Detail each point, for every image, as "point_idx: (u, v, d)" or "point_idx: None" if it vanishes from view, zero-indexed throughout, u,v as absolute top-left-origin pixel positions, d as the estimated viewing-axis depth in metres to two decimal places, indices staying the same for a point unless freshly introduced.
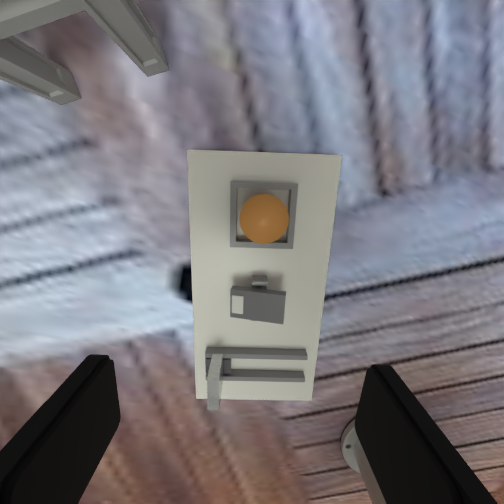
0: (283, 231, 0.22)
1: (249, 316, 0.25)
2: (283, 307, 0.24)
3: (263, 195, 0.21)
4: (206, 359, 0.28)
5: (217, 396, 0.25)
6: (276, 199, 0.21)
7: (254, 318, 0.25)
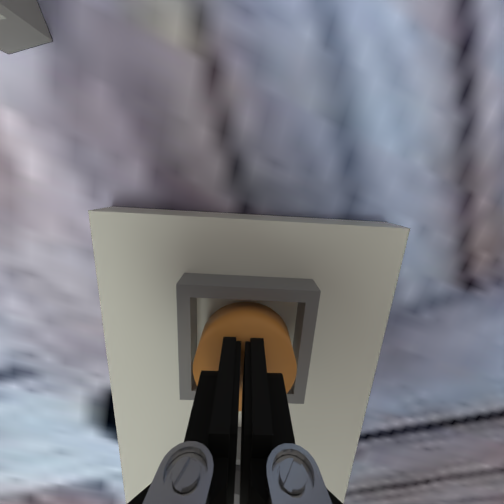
0: None
1: None
2: None
3: (243, 327, 0.10)
4: None
5: None
6: (271, 335, 0.10)
7: None
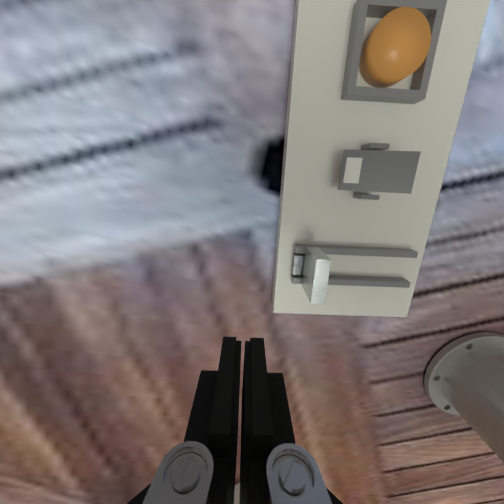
0: (421, 61, 0.18)
1: (366, 186, 0.20)
2: (415, 169, 0.19)
3: (405, 8, 0.17)
4: (296, 256, 0.24)
5: (325, 284, 0.20)
6: (419, 15, 0.17)
7: (372, 188, 0.20)
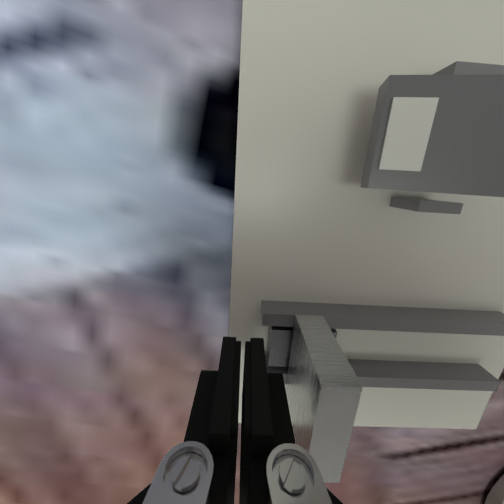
0: None
1: (440, 180, 0.07)
2: None
3: None
4: (274, 331, 0.11)
5: (344, 443, 0.07)
6: None
7: (458, 186, 0.07)
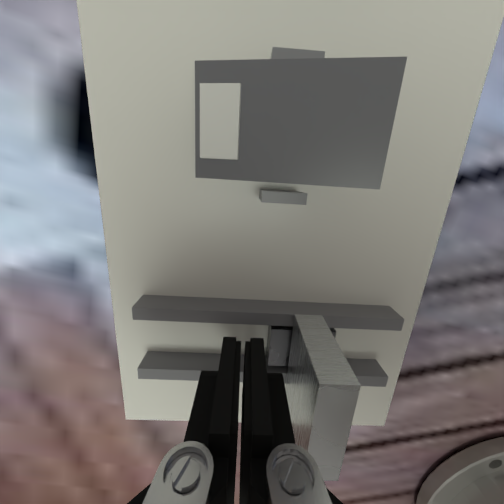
0: None
1: (259, 168, 0.07)
2: (390, 115, 0.06)
3: None
4: (274, 330, 0.11)
5: (342, 441, 0.07)
6: None
7: (276, 175, 0.07)
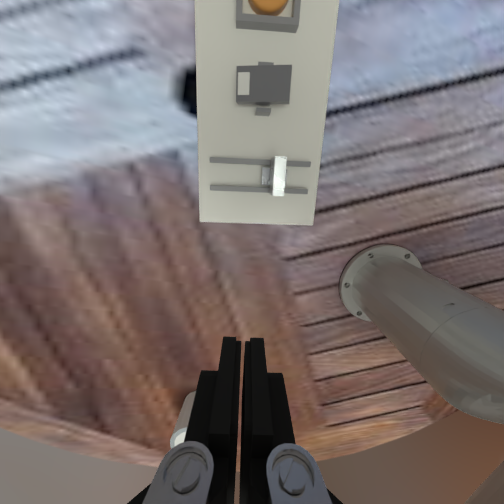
0: None
1: (255, 97, 0.25)
2: (289, 79, 0.24)
3: None
4: (263, 168, 0.29)
5: (283, 178, 0.25)
6: None
7: (260, 99, 0.25)
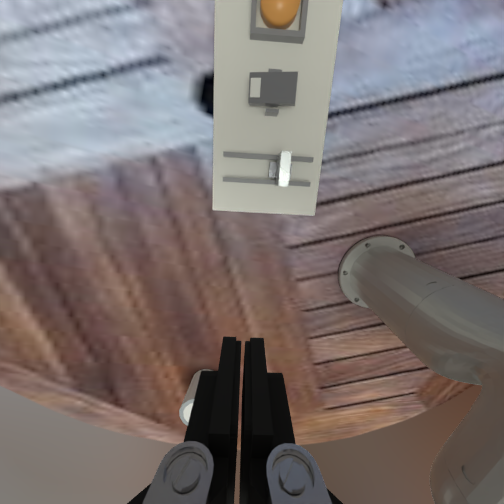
0: (296, 8, 0.27)
1: (265, 99, 0.29)
2: (295, 84, 0.28)
3: None
4: (271, 162, 0.32)
5: (288, 171, 0.29)
6: None
7: (269, 101, 0.29)
